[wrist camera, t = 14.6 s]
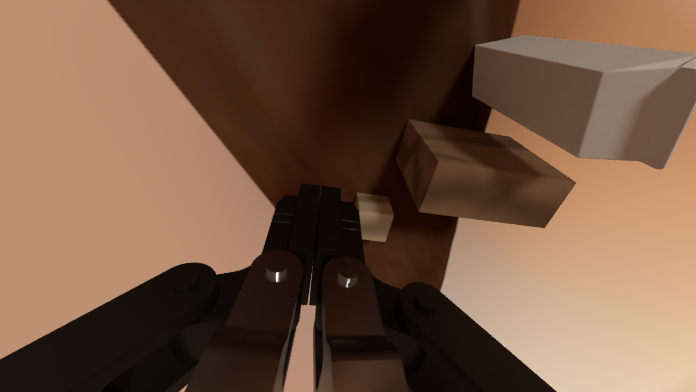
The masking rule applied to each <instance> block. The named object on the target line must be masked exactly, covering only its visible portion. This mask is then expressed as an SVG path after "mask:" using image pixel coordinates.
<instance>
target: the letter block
mask: <svg viewBox="0 0 696 392" xmlns="http://www.w3.org/2000/svg"><path fill="white" fill-rule="evenodd" d="M354 205H355V206H356V208H357V209H358V211H359V215H360V224H361V233H362V239H365V240H374V241H383V242H385V241H386V238H387V235H388V232H389V229H390V226H391V223H392V220H393V217H394V214H393V210H392V207H391V204H390V201H389V197H386V196H379V195H371V194H364V193H357V196H356V200H355V204H354Z"/></svg>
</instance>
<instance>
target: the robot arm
mask: <svg viewBox="0 0 696 392" xmlns="http://www.w3.org/2000/svg"><path fill="white" fill-rule="evenodd" d="M319 195H320V186H318V185H310V184H302V183H301V187H300V192H299V196H291V195H285V196H284V197H283V198H281V199H280V200H279V201H278V202H277V205H276V208H275V213H274V215H273V218H272V222H271V225H270V228H269V232H268V235H267V239H266V242H265V245H264V248H263V252H262V254H261V255H260V256H258V257H257V258H256V259H255V260H254V261H253V263H252V264H251V266H249V267H247V268H245V269H242V270H240V271H235V272H230V273H224V274H218V275H216V273H215V271H214V270H213V269H212V268H211V267H210V266H208V265H205V264H202V263H185V264H181V265H178V266H175V267H173V268H171V269H169V270H167V271H165V272H163V273H161V274H160V275H158V276H156V277H154V278H152V279H150V280H148V281H146V282H144V283H143V284H141V285H139V286H137V287H135V288H133V289H131V290H129V291H128V292H126V293H124V294H122V295H120V296H118V297H116V298H114V299H113V300H111V301H109V302H107V303H105V304H103V305H102V306H100V307H98V308H96V309H94V310H92V311H90V312H88V313H86V314H84V315H83V316H81V317H79V318H77V319H75V320H73V321H71V322H69V323H68V324H66V325H64V326H62V327H60V328H58V329H56V330H54V331H53V332H51V333H49V334H47V335H45V336H43V337H41V338H39V339H38V340H36V341H34V342H32V343H30V344H28V345H26V346H24V347H23V348H21V349H19V350H17V351H15V352H13V353H11V354H9V355H8V356H6V357H4V358H2V359H0V392H179V391H180V390H181V389H182V388H184V387H185V386H186V385H187V384H188V385H187V388H186V390H185V392H283V391H284V386H285V381H286V376H287V371H288V366H289V361H290V356H291V351H292V346H293V342H294V337H295V332H296V326H297V325H298V322H299V318H300V310H301V305H307V302H308V295H309V288H310V281H311V291H310V303H309V305H315V306H316V314H315V322H314V328H313V347H314V348H313V350H314V351H313V352H314V353H313V355H314V356H313V358H314V359H313V360H314V392H556V391H555V390H554V389H553V388H552V387H551V386H549V385H548V384H547V383H546V382H545V381H544V380H542V379H541V378H540V377H539V376H538V375H537V374H535V373H534V372H533V371H532V370H531V369H529V368H528V367H527V366H526V365H525V364H524V363H522V361H520V360H519V359H518V358H517V357H516V356H515V355H513V354H512V353H511V352H510V351H509V350H507V349H506V348H505V347H504V346H503V345H502V344H500V343H499V342H498V341H497V340H496V339H495V338H494V337H492V336H491V335H490V334H489V333H488V332H487V331H485V330H484V329H483V328H482V327H481V326H479V325H478V324H477V323H476V322H475V321H474V320H473V319H471V318H470V317H469V316H468V315H467V314H466V313H464V312H463V311H462V310H461V309H460V308H459V307H457V306H456V305H455V304H454V303H453V302H452V301H450V300H449V299H448V298H447V297H446V296H445V295H443V294H442V293H441V292H440V291H439V290H437V289H436V288H434V287H433V286H430V285H428V284H425V283H420V282H414V283H410V284H407V285H406V286H405V287H403V289H402V290H401V289H399V288H396V287H393V286H390V285H388V284H385V283H383V282H381V281H379V280H378V279H376V278H375V277H374V276H373V275H372V274H371V272H370V270H369V268H368V267H367V266H366V265H365V260H364V251H363V242H362V233H361V224H360V215H359V211H358V209H357V208H356V206H355V205H354V204H353V203H352V202H344V201H341V188H335V187H327V186H322V188H321V196H320V203H319ZM318 206H319V210H318ZM317 217H318V218H317ZM312 266H313V269H312ZM311 273H312V280H311Z"/></svg>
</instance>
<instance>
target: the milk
mask: <svg viewBox="0 0 696 392" xmlns="http://www.w3.org/2000/svg"><path fill="white" fill-rule="evenodd" d="M472 96H473V97H474V98H476V99H478V100H480V101H481V102H483V103H485V104H486V105H488V106H490V107H492V108H493V109H495V110H497V111H498V112H500V113H502V114H504V115H505V116H507V117H509V118H511V119H512V120H514V121H516V122H517V123H519V124H521V125H523V126H524V127H526V128H528V129H529V130H531V131H533V132H535V133H536V134H538V135H540V136H541V137H543V138H545V139H547V140H548V141H550V142H552V143H554V144H555V145H557V146H559V147H560V148H562V149H564V150H565V151H567V152H569V153H571V154H572V155H574V156H576V157H578V158H589V159H607V160H628V161H640V162H643V163H645V164H647V165H649V166H651V167H653V168H655V169H663V168H665V167H666V165H667V163H668V161H669V159H670V157H671V155H672V153H673V151H674V149H675V147H676V144H677V143H678V141H679V139H680V137H681V135H682V133H683V131H684V128H685V126H686V124H687V122H688V120H689V118H690V116H691V114H692V112H693V110H694V108H695V106H696V53H690V52H681V51H671V50H661V49H652V48H642V47H633V46H623V45H614V44H604V43H594V42H585V41H575V40H566V39H556V38H547V37H537V36H528V35H525V36H520V37H515V38H510V39H504V40H499V41H494V42H489V43H484V44H479V45H475V55H474V71H473V86H472Z"/></svg>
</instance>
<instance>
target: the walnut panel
mask: <svg viewBox="0 0 696 392" xmlns="http://www.w3.org/2000/svg"><path fill="white" fill-rule="evenodd" d="M396 160H397V163H398V165H399V167H400V169H401V172H402V174H403V176H404V179H405V181H406V183H407V185H408V188H409V190H410V192H411V195H412V197H413V199H414V201H415V204H416V206H417V208H418V211H419V212H423V213H431V214H439V215H446V216H454V217H462V218H471V219H478V220H485V221H494V222H501V223H509V224H517V225H524V226H532V227H541V228H545V227H546V225H547V224H548V222H549V221H550V219H551V218H552V217H553V215H554V214H555V212H556V211H557V209H558V208H559V207H560V205H561V204H562V202H563V201H564V200H565V198H566V197H567V195H568V194H569V193H570V191H571V190H572V188H573V187H574V185H575V184H576V182H574V181H573V180H572V179H570V178H569V177H567V176H566V175H564V174H563V173H561V172H560V171H559V170H557V169H556V168H554V167H553V166H551V165H549V164H548V163H547V162H545V161H544V160H542V159H541V158H539V157H538V156H537V155H535V154H534V153H532V152H531V151H529V150H528V149H526V148H525V147H524V146H522V145H521V144H519V143H518V142H516V141H515V140H513V139H512V138H511V137H508V136H502V135H496V134H490V133H484V132H478V131H473V130H467V129H461V128H455V127H450V126H444V125H438V124H432V123H427V122H421V121H415V120H409V119H408V122H407V125H406V129H405V132H404V135H403V139H402V142H401V145H400V149H399V152H398V155H397V159H396Z"/></svg>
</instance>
